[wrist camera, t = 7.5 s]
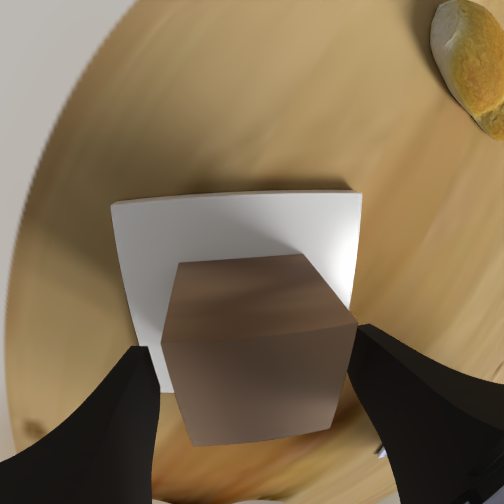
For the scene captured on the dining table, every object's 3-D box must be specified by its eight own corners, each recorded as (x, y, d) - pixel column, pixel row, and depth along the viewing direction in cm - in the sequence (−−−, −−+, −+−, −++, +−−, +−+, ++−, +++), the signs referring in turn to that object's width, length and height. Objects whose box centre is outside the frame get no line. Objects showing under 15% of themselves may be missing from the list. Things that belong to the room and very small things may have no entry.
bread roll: (499, 158, 12) (544, 169, 9) (415, 75, 10) (471, 65, 7) (511, 68, 10) (550, 69, 6) (433, -15, 8) (474, -32, 4)
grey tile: (353, 190, 12) (362, 193, 11) (330, 365, 15) (335, 374, 15) (116, 201, 11) (110, 205, 10) (157, 382, 14) (155, 392, 13)
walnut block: (303, 253, 12) (358, 322, 7) (296, 348, 13) (330, 428, 9) (178, 262, 11) (160, 343, 6) (194, 358, 13) (193, 446, 8)
